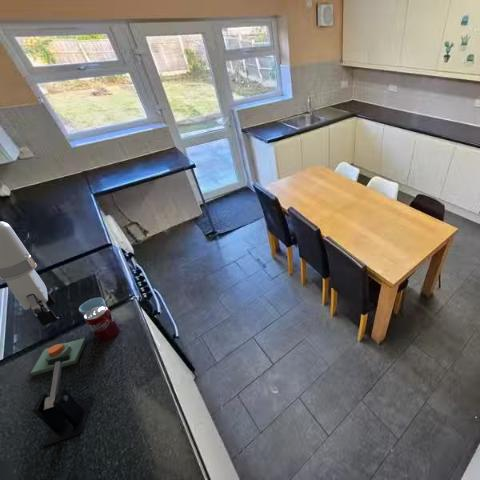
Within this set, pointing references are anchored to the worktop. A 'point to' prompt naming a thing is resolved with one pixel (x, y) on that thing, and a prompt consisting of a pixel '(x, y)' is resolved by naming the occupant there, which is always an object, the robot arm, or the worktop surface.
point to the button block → (69, 349)
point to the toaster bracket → (63, 416)
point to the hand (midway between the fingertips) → (49, 313)
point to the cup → (91, 305)
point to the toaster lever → (54, 381)
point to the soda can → (102, 323)
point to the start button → (55, 349)
